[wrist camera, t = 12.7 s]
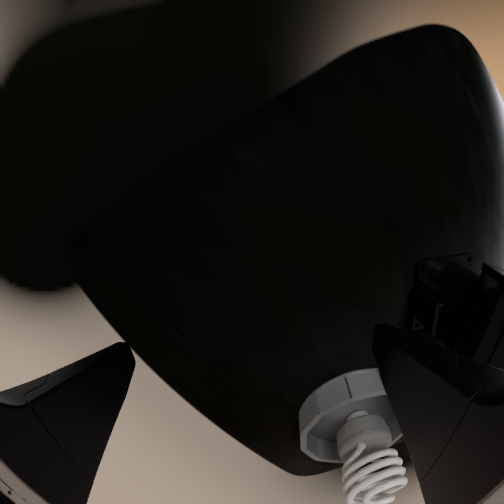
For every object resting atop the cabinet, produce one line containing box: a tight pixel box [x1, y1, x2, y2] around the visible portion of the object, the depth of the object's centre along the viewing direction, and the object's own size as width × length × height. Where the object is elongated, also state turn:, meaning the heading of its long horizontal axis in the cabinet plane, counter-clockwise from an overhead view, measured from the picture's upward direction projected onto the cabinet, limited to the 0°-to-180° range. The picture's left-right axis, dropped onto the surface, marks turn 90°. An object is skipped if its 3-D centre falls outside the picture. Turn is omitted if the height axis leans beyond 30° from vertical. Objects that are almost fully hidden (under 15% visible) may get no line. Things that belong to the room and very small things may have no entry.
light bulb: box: [337, 411, 408, 504], centre depth 18 cm, size 6×6×12 cm
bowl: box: [299, 368, 403, 463], centre depth 22 cm, size 12×12×4 cm
